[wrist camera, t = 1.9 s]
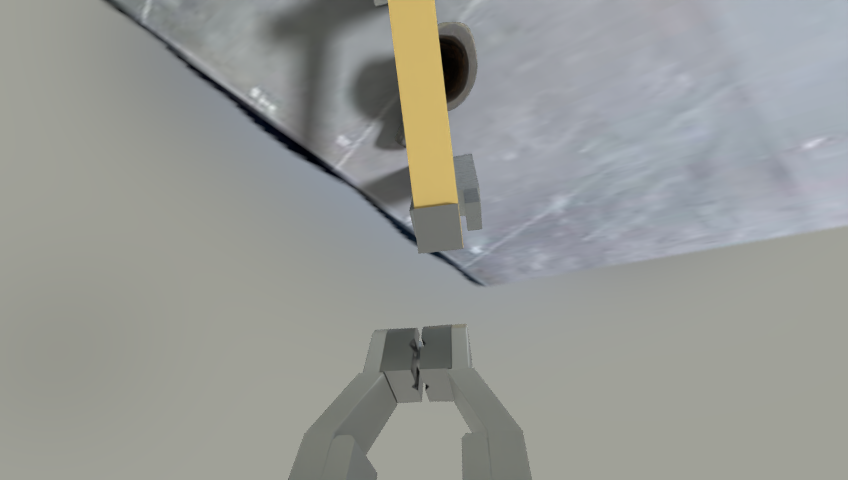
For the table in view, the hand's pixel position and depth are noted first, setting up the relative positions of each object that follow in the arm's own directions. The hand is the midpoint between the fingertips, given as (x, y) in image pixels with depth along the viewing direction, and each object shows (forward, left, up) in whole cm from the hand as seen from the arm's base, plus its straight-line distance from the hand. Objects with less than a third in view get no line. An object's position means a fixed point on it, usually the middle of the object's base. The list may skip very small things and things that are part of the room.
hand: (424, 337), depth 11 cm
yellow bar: (-5, 0, -16) cm, 17 cm away
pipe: (-4, 0, -31) cm, 32 cm away
